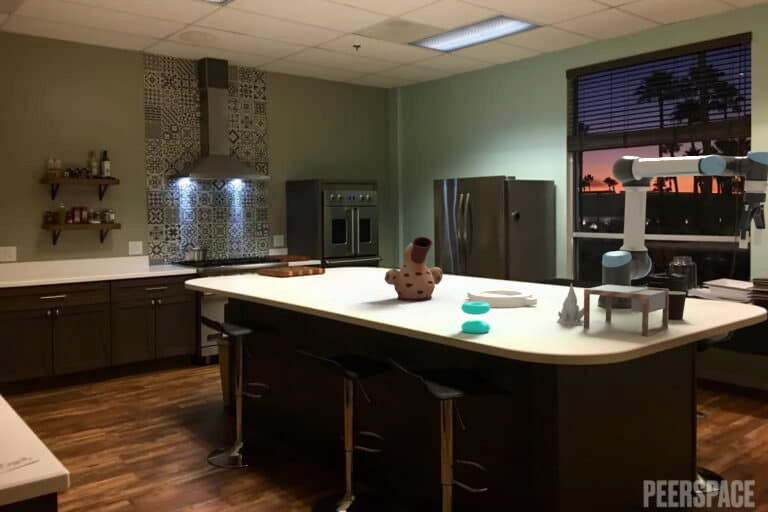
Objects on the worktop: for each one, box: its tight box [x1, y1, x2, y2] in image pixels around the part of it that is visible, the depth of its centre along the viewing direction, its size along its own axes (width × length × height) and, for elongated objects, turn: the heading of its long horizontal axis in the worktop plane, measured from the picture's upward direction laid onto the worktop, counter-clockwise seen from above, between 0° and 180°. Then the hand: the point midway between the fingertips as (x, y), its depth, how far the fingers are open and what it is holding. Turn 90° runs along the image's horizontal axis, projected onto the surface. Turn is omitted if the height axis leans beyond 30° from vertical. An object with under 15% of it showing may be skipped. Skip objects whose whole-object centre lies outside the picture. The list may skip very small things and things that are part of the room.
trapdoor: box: [588, 285, 665, 314], centre depth 231 cm, size 22×15×7 cm
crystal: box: [556, 282, 584, 326], centre depth 245 cm, size 10×13×15 cm
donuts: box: [460, 301, 491, 334], centre depth 229 cm, size 10×10×10 cm
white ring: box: [467, 288, 538, 308], centre depth 297 cm, size 28×28×5 cm
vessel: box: [384, 236, 444, 302], centre depth 309 cm, size 29×22×30 cm
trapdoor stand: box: [583, 284, 670, 337], centre depth 231 cm, size 23×19×14 cm
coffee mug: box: [668, 290, 687, 321], centre depth 251 cm, size 12×9×10 cm
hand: (750, 246), depth 254 cm, fingers open, 13 cm apart
